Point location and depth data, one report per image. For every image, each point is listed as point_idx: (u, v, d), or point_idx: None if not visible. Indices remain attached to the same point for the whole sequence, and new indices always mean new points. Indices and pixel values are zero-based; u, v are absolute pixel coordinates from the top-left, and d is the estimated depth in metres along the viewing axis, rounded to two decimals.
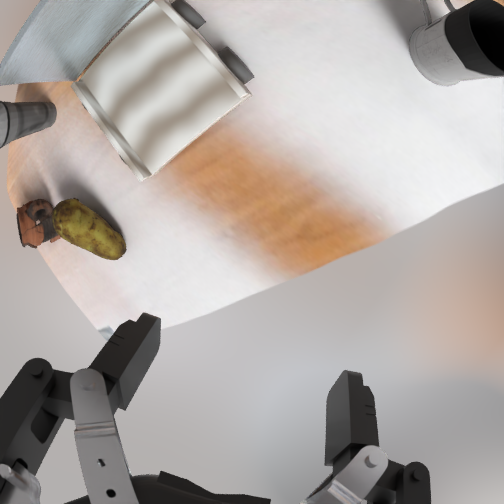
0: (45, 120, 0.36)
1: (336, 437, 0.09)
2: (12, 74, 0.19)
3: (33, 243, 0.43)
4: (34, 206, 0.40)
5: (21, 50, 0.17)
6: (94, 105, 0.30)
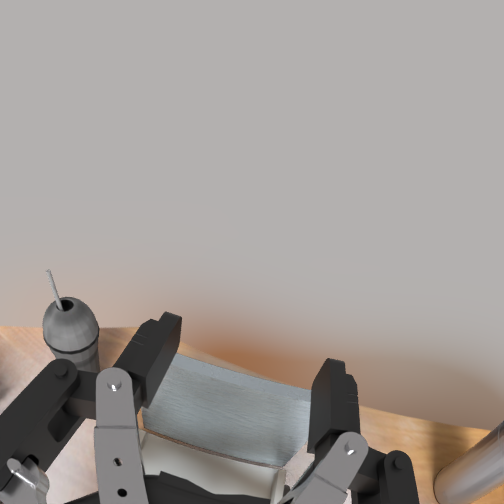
0: None
1: (318, 424, 0.10)
2: None
3: None
4: None
5: (190, 378, 0.21)
6: None
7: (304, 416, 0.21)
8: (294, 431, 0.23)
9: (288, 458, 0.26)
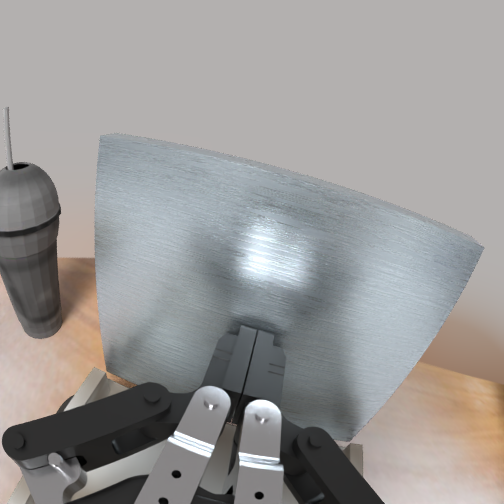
0: (30, 318, 0.20)
1: (241, 393, 0.10)
2: (123, 183, 0.11)
3: None
4: None
5: (200, 182, 0.10)
6: None
7: (430, 282, 0.10)
8: (401, 336, 0.12)
9: (366, 419, 0.14)
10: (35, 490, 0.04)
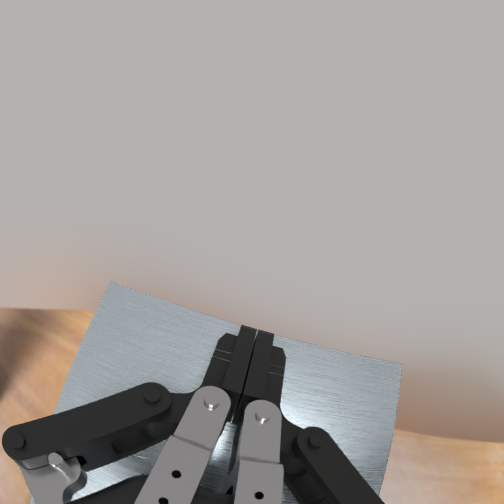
0: None
1: (241, 393, 0.10)
2: (120, 319, 0.14)
3: None
4: None
5: (184, 328, 0.14)
6: None
7: (367, 398, 0.13)
8: (359, 452, 0.11)
9: None
10: (35, 490, 0.04)
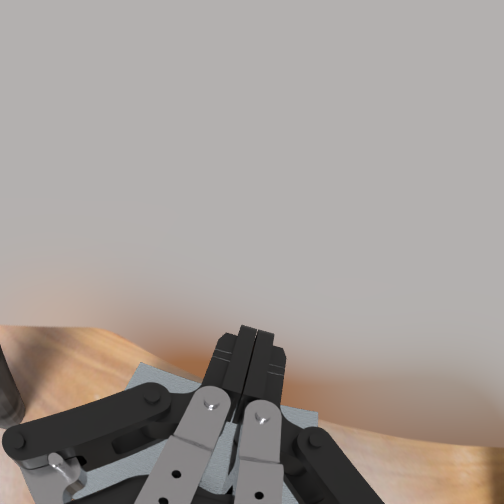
0: None
1: (241, 393, 0.10)
2: None
3: None
4: None
5: (187, 388, 0.23)
6: None
7: None
8: None
9: None
10: (35, 490, 0.04)
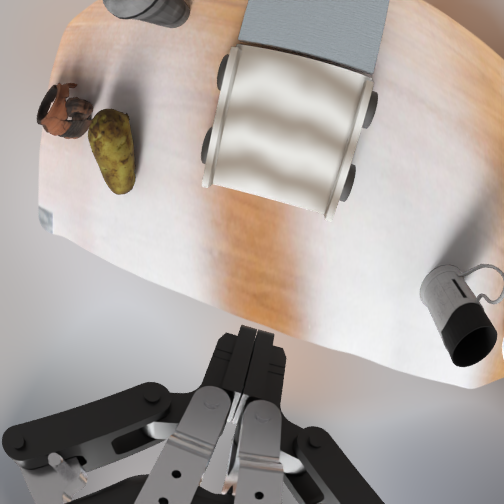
0: (171, 23, 0.30)
1: (241, 393, 0.10)
2: None
3: (49, 130, 0.36)
4: (79, 107, 0.34)
5: None
6: (230, 87, 0.30)
7: None
8: (373, 6, 0.24)
9: (375, 52, 0.26)
10: (35, 490, 0.04)
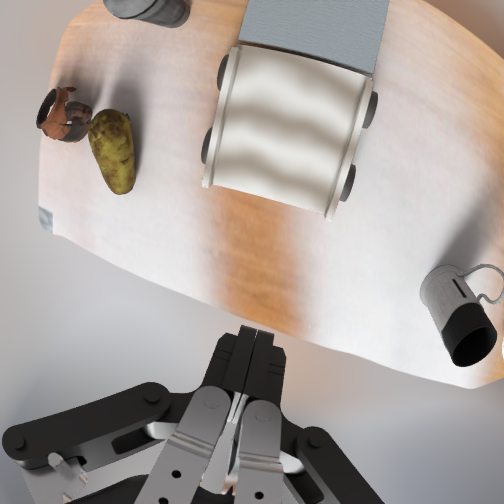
0: (171, 23, 0.30)
1: (241, 393, 0.10)
2: None
3: (49, 134, 0.37)
4: (79, 111, 0.34)
5: None
6: (230, 87, 0.30)
7: None
8: (373, 6, 0.24)
9: (375, 52, 0.26)
10: (35, 490, 0.04)
